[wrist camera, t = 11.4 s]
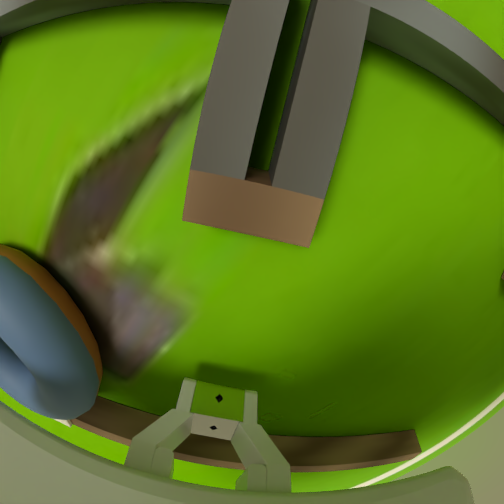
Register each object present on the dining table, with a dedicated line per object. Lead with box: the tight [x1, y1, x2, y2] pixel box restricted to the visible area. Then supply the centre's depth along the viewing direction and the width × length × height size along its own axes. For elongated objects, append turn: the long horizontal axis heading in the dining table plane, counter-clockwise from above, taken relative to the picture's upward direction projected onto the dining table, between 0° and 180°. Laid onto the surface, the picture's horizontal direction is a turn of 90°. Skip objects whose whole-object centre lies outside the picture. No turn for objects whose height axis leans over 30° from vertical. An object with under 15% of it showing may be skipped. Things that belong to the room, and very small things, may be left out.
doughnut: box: [0, 244, 103, 420], centre depth 9 cm, size 10×10×5 cm
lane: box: [0, 0, 504, 472], centre depth 8 cm, size 32×22×3 cm
